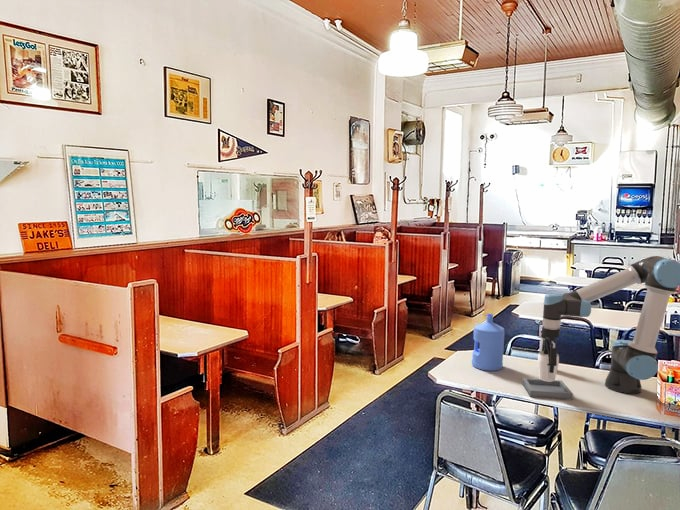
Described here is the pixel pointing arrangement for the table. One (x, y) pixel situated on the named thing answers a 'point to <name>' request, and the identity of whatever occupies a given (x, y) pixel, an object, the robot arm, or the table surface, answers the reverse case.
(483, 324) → the water jug
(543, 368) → the cup
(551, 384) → the tray
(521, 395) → the table surface
